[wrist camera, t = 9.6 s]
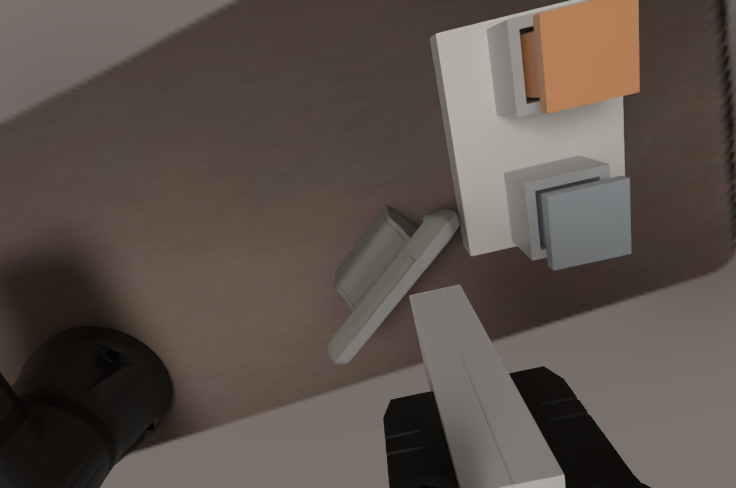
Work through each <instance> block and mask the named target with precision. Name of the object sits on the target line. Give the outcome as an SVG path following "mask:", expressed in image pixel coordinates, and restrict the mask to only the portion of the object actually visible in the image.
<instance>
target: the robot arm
mask: <svg viewBox="0 0 736 488" xmlns="http://www.w3.org/2000/svg"><path fill="white" fill-rule="evenodd" d="M409 297H410V302H411V307H412V311H413V316H414V320H415V325H416V329H417V334H418V339H419V343H420V348H421V352H422V357H423V362H424V366H425V371H426V375H427V378H428V383H429V386H430V390H431V391H430V392H425V393H420V394H416V395H411V396H406V397H401V398H396V399H392V400H390V403H389V406H388V408H387V410H386V413H385V415H384V418H383V420H384V431H385V439H386V453H387V464H388V476H389V486H390V488H650V487H649V486H647V485H645V484H642V483H641V482H640V481H639V480H638V479H637V478H636V477H635V476H634V475H633V474H632V472H631V470H630V469H629V468H628V466H627V465H626V464H625V462H624V461H623V460H622V458H621V457H620V455H619V454H618V453H617V451H616V450H615V449H614V447H613V446H612V444H611V443H610V442H609V440H608V439H607V438H606V437H605V435H604V434H603V432H602V431H601V429H600V428H599V427H598V426H597V424H596V423H595V421H594V420H593V419H592V417H591V416H590V415H588V413H587V410H586V409H585V408H584V406H583V405H582V403H581V402H580V401H579V400H577V397H576V395H575V394H574V393H573V391H572V390H571V388H570V387H569V386H568V384H567V383H566V382H565V380H564V379H563V378H561V377H560V376H558V375H557V374H555V373H553V372H552V371H550V370H549V369H547V368H546V367H538V368H533V369H529V370H524V371H519V372H515V373H508V372H507V370H506V368H505V366H504V364H503V362H502V360H501V359H500V357H499V355H498V353H497V351H496V349H495V348H494V346H493V344H492V342H491V340H490V339H489V337H488V335H487V333H486V331H485V329H484V328H483V326H482V324H481V322H480V320H479V319H478V317H477V315H476V313H475V311H474V309H473V308H472V306H471V304H470V302H469V300H468V298H467V297H466V295H465V293H464V291H463V289H462V288H461V286H460V284H459V285H454V286H450V287H445V288H441V289H436V290H432V291H427V292H422V293H418V294H413V295H409ZM170 401H171V384H170V380H169V377H168V374H167V372H166V370H165V368H164V366H163V365H162V363H161V362H160V360H159V359H158V358H157V357H156V356H155V354H154V353H153V352H152V351H150V350H149V349H148V348H147V347H146V346H145V345H143V344H142V343H140V342H139V341H137V340H135V339H134V338H132V337H130V336H128V335H125V334H123V333H120V332H117V331H114V330H110V329H106V328H99V327H81V328H75V329H70V330H67V331H64V332H62V333H59V334H57V335H55V336H54V337H52V338H51V339H50V340H48V341H47V342H46V343H45V344H43V345H42V346H41V347H40V348H38V349H37V350H36V351H35V352H34V353H33V354H32V355H31V356H30V357H29V358H28V360H27V361H26V363H25V364H24V366H23V368H22V371H21V373H20V375H19V376H18V378H17V380H16V381H15V383H14V385H13V386H12V388H11V386H10V385H9V384H8V382H7V381H6V379H5V378H4V377H3V375H2V374H1V373H0V488H100V486H101V485H102V483H103V481H104V480H105V478H106V477H107V475H108V474H109V472H110V471H111V469H112V468H113V466H114V465H115V464H117V463H118V462H119V461H120V460H122V459H123V458H124V457H125V456H126V455H128V454H129V453H130V452H131V451H133V450H134V449H135V448H136V447H137V446H139V445H140V444H141V443H142V442H144V441H145V440H146V439H147V438H148V437H149V436H150V435H151V434H152V433H153V432H154V431H155V430H156V428H157V427H158V426H159V424H160V422H161V421H162V419H163V417H164V415H165V414H166V412H167V410H168V408H169V405H170Z"/></svg>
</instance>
